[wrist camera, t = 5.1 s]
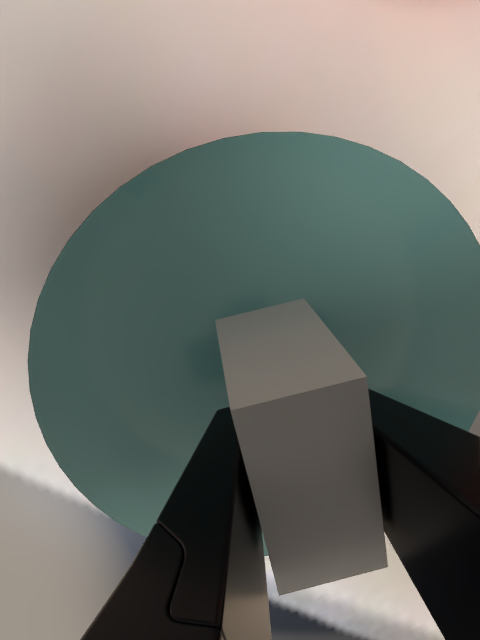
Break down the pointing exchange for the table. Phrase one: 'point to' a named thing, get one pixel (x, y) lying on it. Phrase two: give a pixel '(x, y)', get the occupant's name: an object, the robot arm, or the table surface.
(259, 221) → the lid
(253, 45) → the table surface
